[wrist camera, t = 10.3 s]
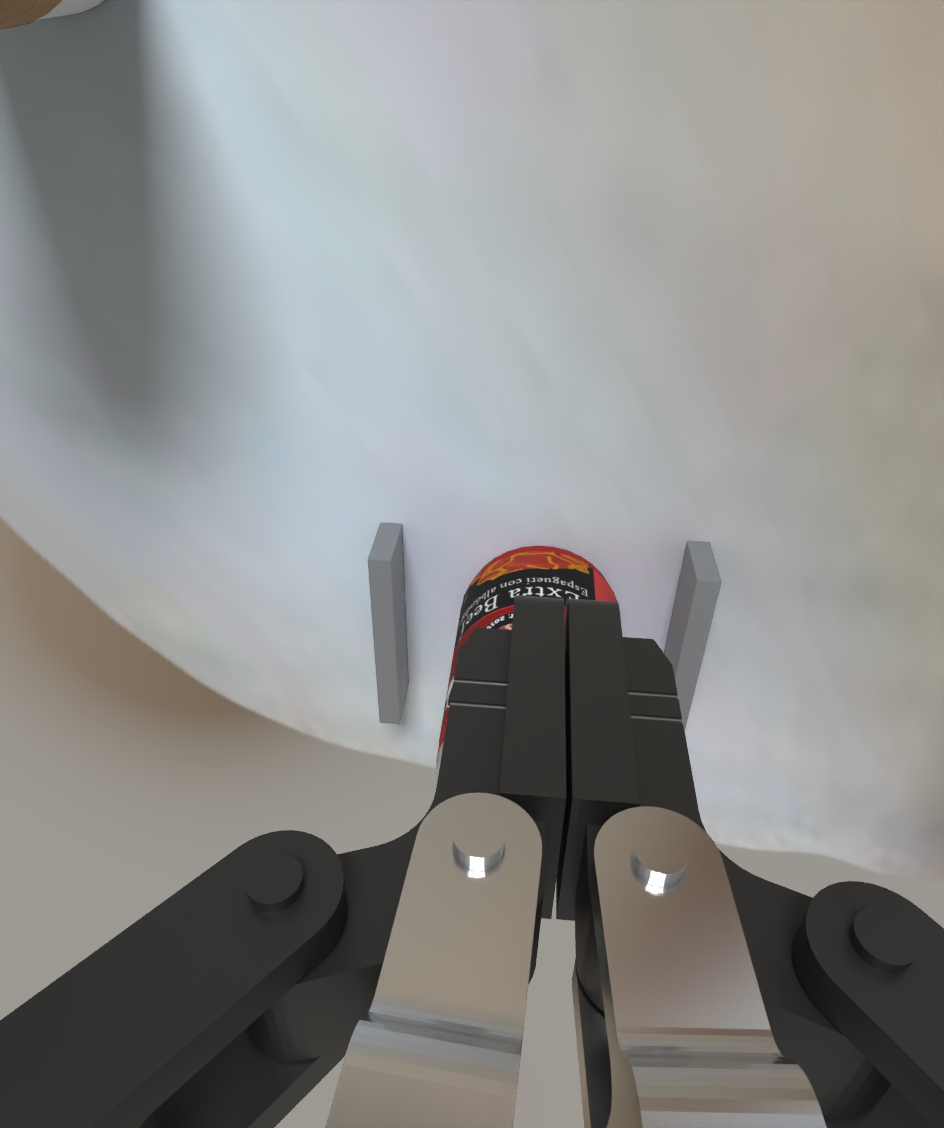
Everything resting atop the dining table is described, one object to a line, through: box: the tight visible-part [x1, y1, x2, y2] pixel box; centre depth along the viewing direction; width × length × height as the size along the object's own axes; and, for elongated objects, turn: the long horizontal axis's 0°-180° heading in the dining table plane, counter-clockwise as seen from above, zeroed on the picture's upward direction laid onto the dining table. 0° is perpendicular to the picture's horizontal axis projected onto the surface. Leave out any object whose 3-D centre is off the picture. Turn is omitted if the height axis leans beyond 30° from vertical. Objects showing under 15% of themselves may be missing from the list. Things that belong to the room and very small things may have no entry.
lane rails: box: [368, 523, 721, 731], centre depth 37 cm, size 15×10×3 cm, turn 89°
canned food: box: [436, 546, 617, 781], centre depth 34 cm, size 8×8×11 cm
